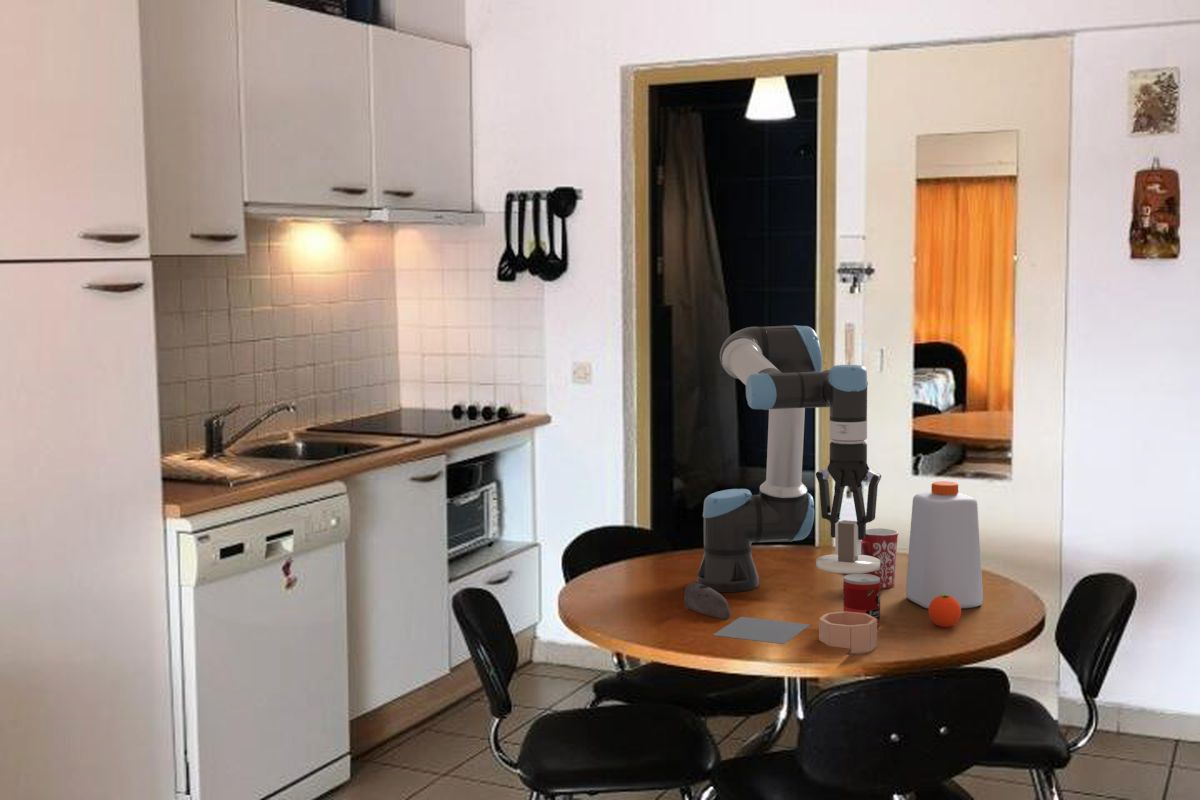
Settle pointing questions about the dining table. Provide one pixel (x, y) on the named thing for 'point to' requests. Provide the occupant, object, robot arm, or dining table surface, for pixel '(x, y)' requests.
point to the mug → (882, 553)
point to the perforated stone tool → (706, 601)
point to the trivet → (761, 630)
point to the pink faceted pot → (849, 631)
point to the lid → (847, 554)
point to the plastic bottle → (944, 547)
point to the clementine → (944, 610)
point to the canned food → (862, 594)
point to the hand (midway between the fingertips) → (848, 554)
